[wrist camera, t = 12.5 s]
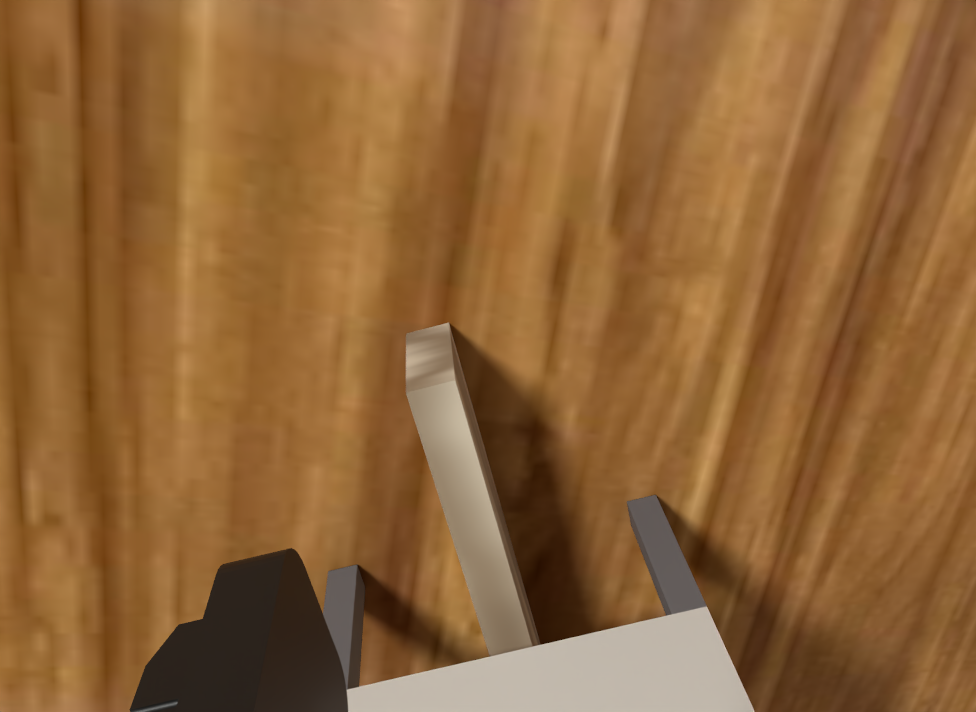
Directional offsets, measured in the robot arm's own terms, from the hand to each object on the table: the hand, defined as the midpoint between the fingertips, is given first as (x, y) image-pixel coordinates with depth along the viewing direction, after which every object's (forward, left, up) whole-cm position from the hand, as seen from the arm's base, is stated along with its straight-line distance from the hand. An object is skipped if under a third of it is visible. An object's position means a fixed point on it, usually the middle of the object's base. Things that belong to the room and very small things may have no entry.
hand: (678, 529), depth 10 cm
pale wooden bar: (+4, +21, -30) cm, 37 cm away
